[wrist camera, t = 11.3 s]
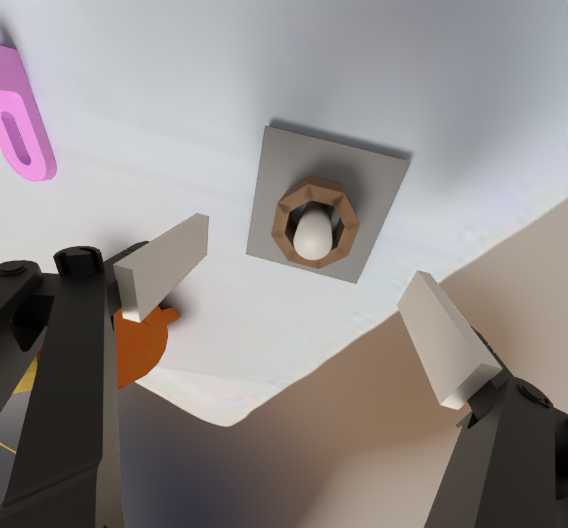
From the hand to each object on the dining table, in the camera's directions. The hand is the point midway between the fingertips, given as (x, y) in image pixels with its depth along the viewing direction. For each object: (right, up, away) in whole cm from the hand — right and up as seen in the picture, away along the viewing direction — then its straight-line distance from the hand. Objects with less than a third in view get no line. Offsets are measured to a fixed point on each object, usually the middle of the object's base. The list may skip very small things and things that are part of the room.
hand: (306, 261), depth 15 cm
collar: (+2, +5, +11) cm, 12 cm away
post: (+2, +6, +12) cm, 13 cm away
